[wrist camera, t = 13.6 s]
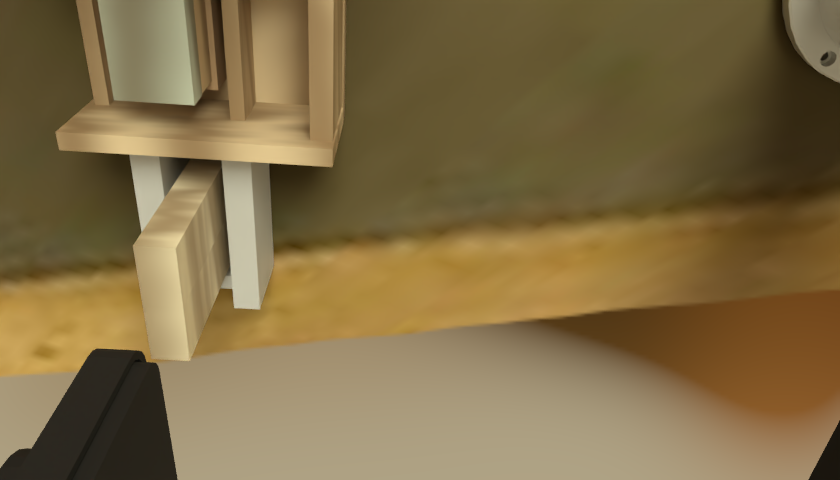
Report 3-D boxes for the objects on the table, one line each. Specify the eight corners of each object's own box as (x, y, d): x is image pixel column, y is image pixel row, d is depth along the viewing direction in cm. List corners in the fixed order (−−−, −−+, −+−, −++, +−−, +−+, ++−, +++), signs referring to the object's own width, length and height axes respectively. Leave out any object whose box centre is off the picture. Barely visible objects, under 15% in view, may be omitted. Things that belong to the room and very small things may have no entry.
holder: (267, 123, 42) (250, 157, 38) (274, 265, 48) (259, 309, 44) (157, 116, 42) (128, 149, 38) (176, 259, 48) (153, 303, 43)
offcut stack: (217, -44, 37) (187, -23, 32) (226, 78, 40) (201, 113, 35) (120, -51, 36) (76, -32, 32) (138, 72, 40) (101, 107, 35)
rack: (347, -85, 36) (333, -65, 31) (344, 117, 42) (332, 167, 36) (75, -105, 36) (7, -90, 30) (110, 102, 42) (59, 150, 36)
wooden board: (233, 145, 43) (175, 248, 33) (239, 241, 47) (189, 360, 37) (200, 143, 43) (133, 245, 33) (209, 240, 47) (151, 358, 37)
